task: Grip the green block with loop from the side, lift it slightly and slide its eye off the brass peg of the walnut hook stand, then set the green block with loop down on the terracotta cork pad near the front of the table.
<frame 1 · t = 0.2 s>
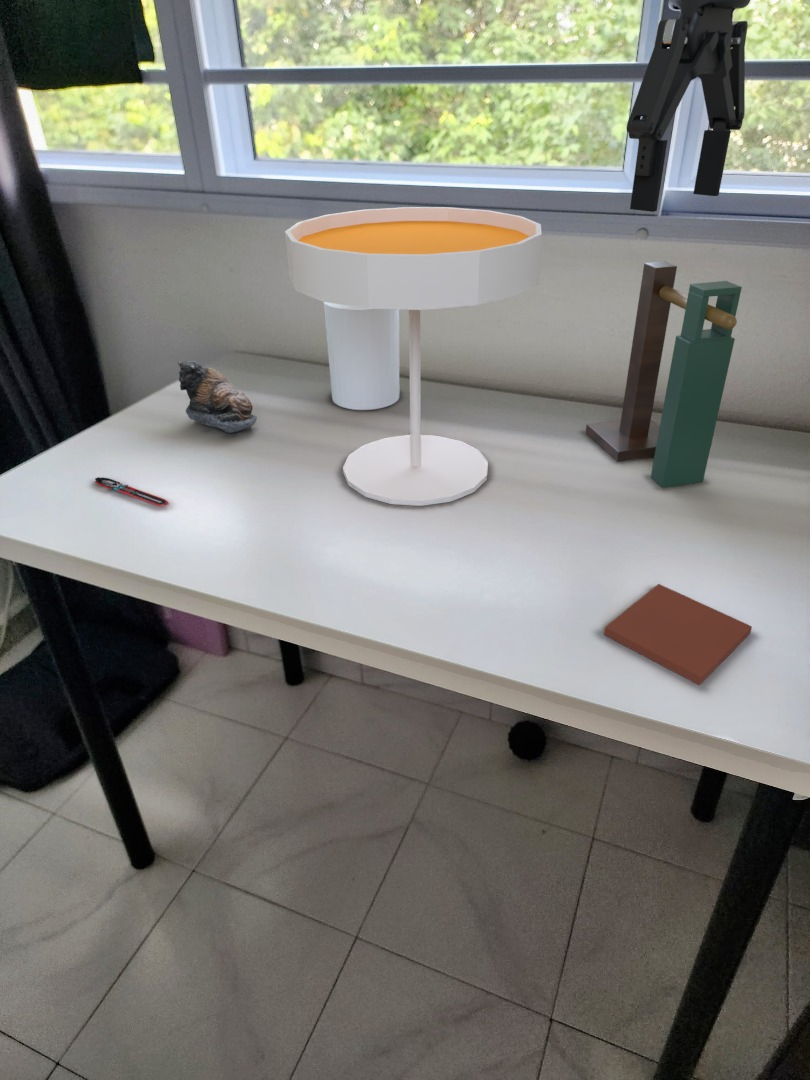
hand: (675, 202, 82), 34 cm above the table, tool pointing down, fingers open, 13 cm apart
green block with loop: (676, 479, 99), on the table
bottle: (365, 397, 126), on the table
hook stand: (631, 442, 109), on the table
white stemmed bowl: (415, 470, 103), on the table
cork pad: (676, 634, 73), on the table
bison figurine: (220, 428, 116), on the table
pen: (131, 494, 99), on the table
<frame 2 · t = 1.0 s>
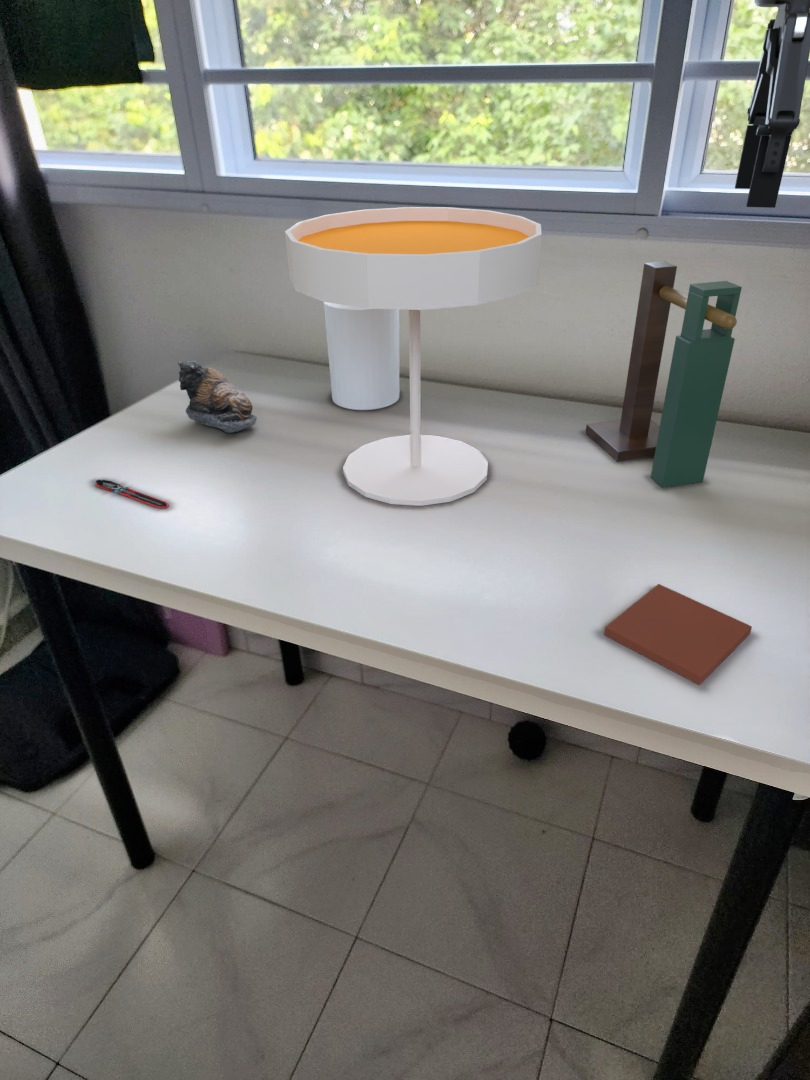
hand: (753, 197, 83), 34 cm above the table, tool pointing down, fingers open, 13 cm apart
nothing on the table moved.
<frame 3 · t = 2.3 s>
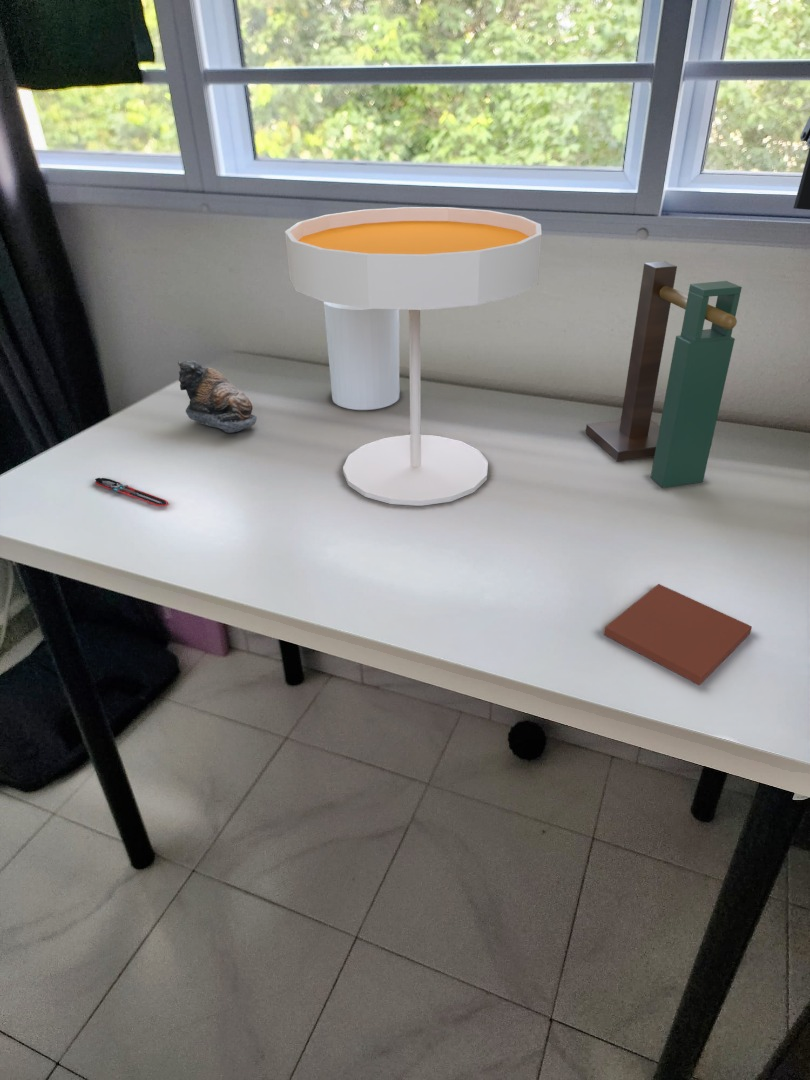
nothing on the table moved.
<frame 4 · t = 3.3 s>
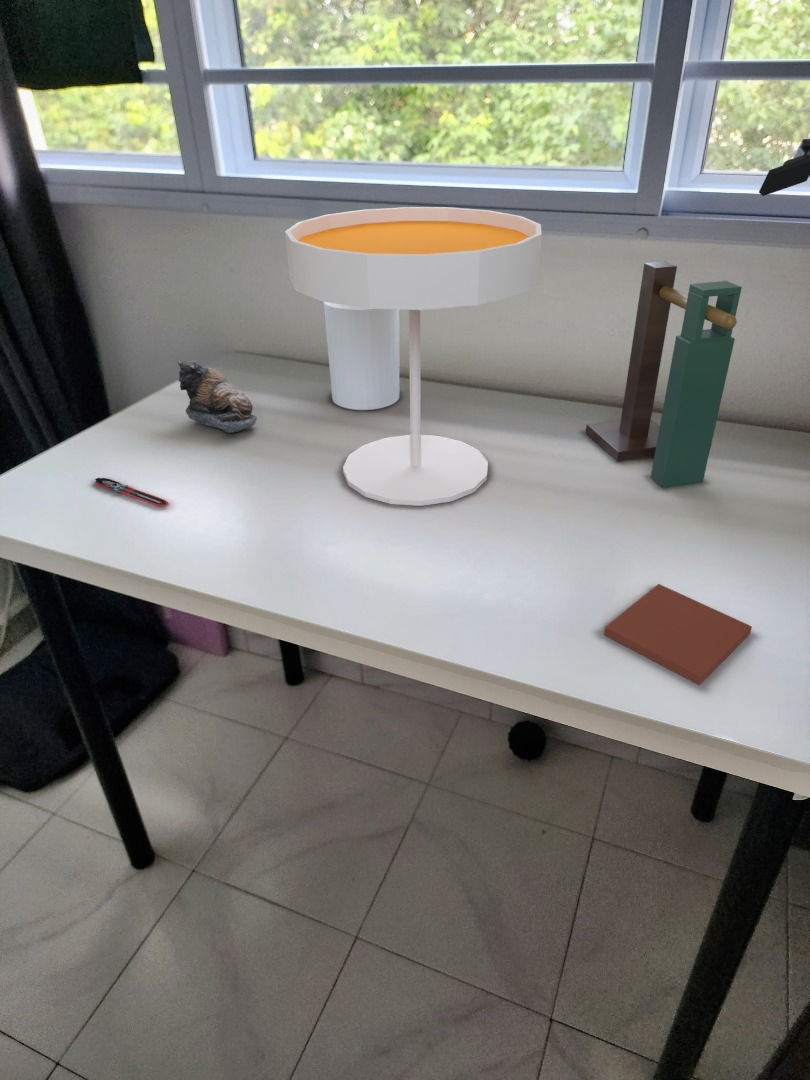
hand: (808, 219, 80), 32 cm above the table, tool horizontal, fingers open, 13 cm apart
nothing on the table moved.
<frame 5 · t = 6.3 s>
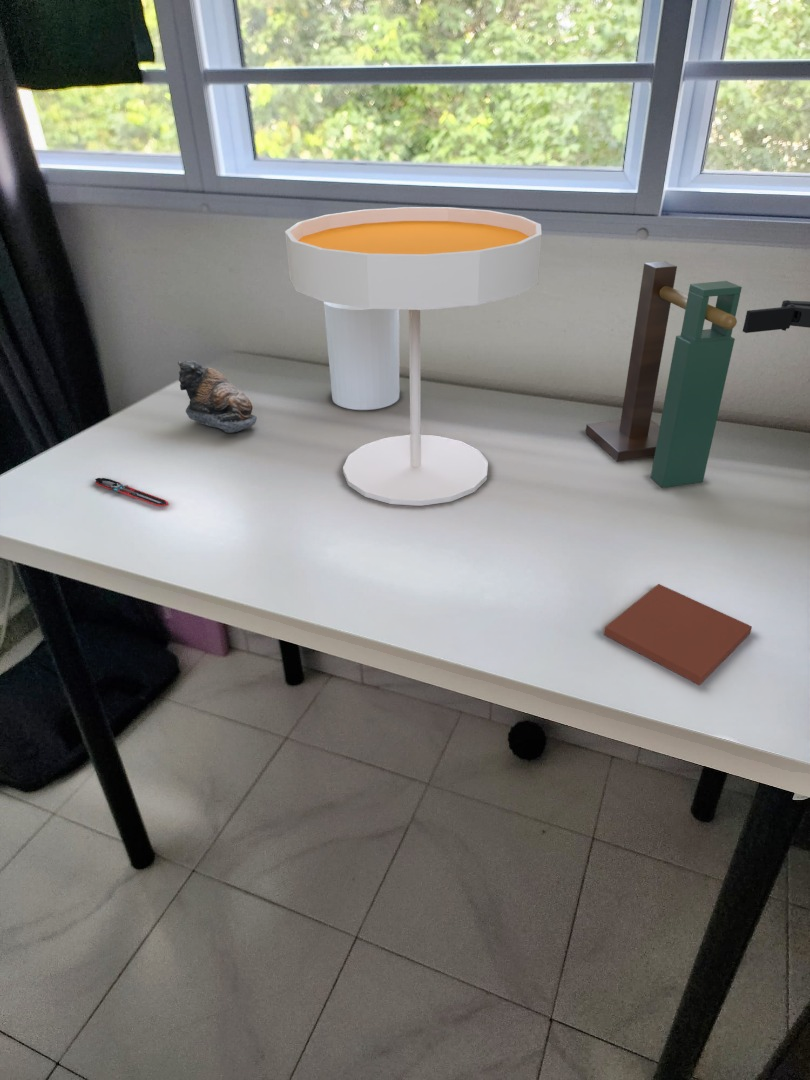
hand: (780, 337, 92), 18 cm above the table, tool horizontal, fingers open, 13 cm apart
nothing on the table moved.
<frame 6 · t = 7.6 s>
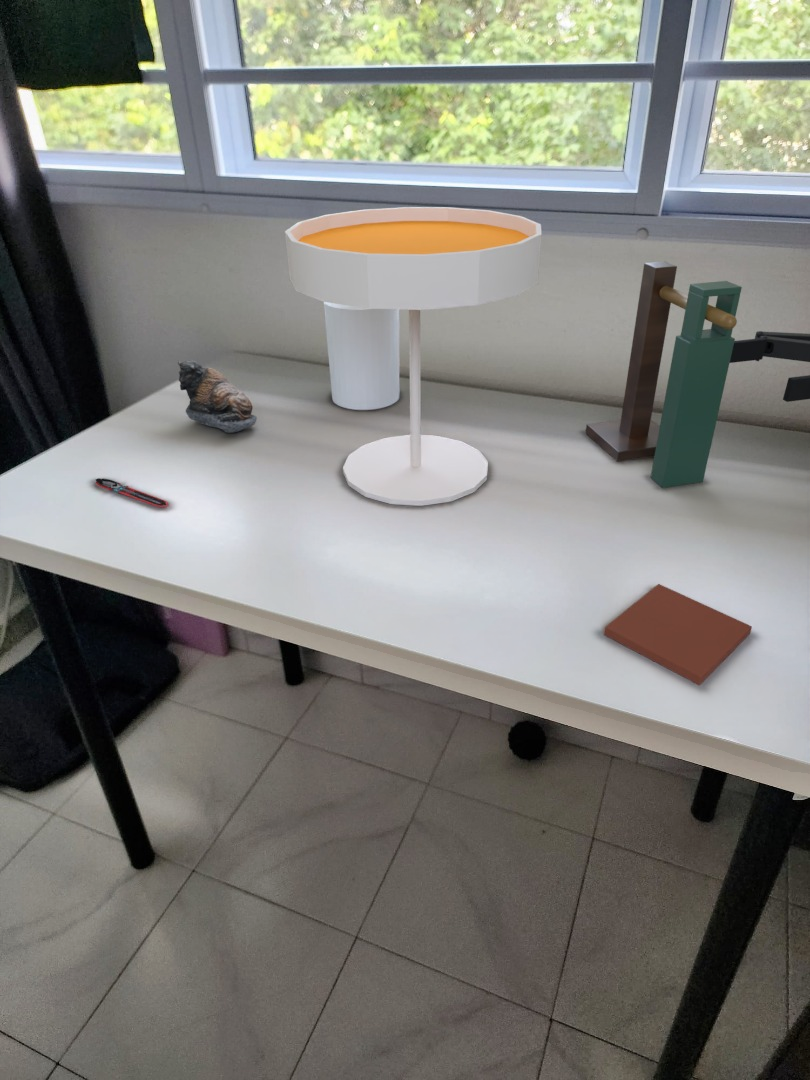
hand: (751, 370, 93), 14 cm above the table, tool horizontal, fingers open, 13 cm apart
nothing on the table moved.
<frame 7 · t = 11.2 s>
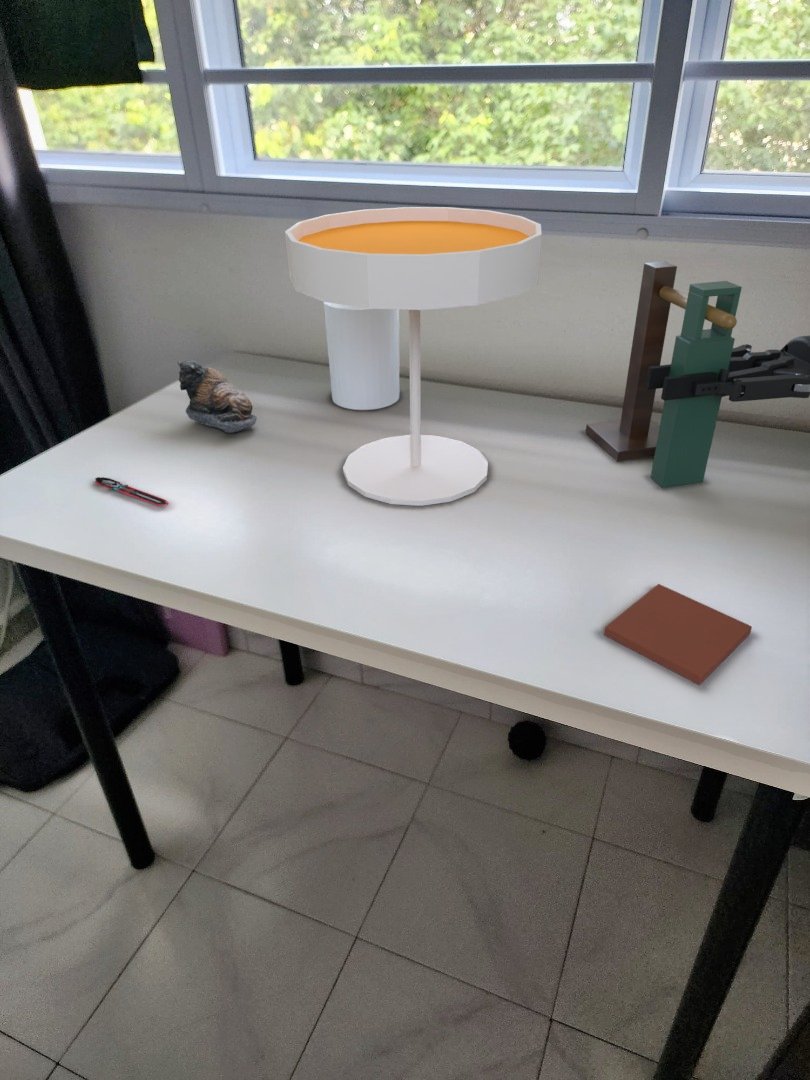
hand: (656, 383, 91), 14 cm above the table, tool horizontal, fingers closed on green block with loop, 3 cm apart
green block with loop: (676, 479, 99), on the table, touching gripper
everything else where it was.
when the fingers open (15 cm above the table, at t = 23.5 s): green block with loop stays where it is, resting on cork pad.
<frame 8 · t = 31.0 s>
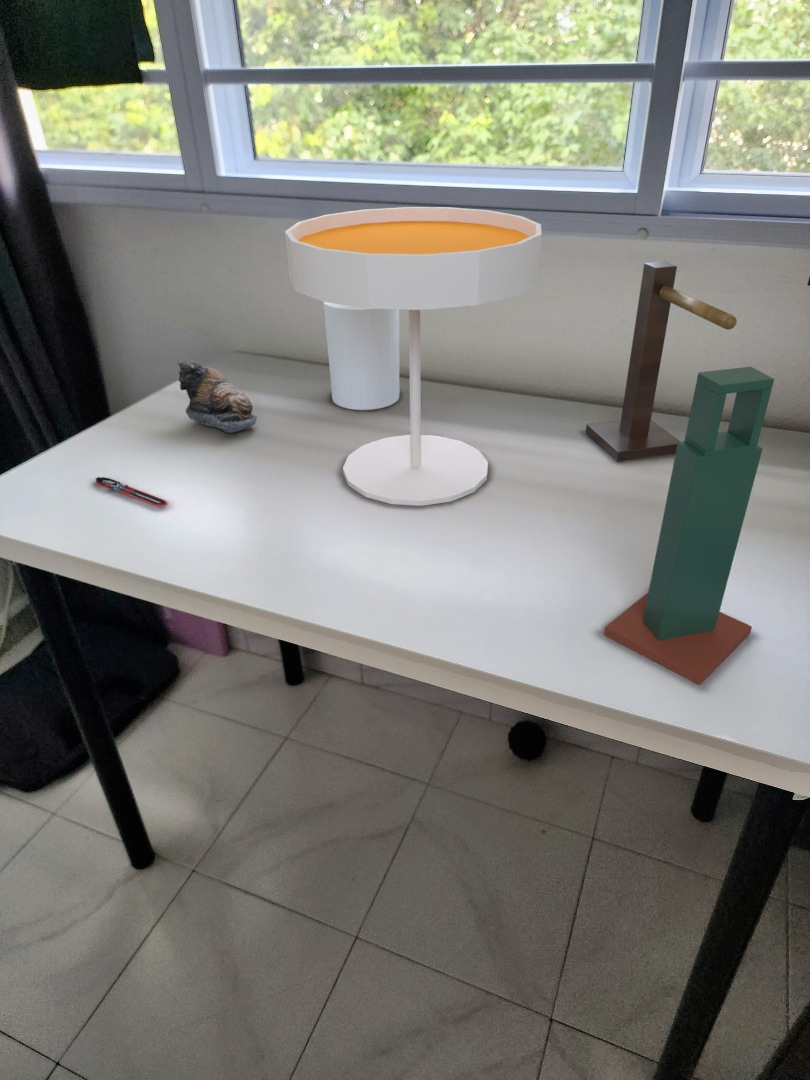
green block with loop: (678, 625, 72), point 1 cm above the table, touching cork pad
everything else where it was.
at the end: green block with loop inside the target area on the cork pad (0.1 cm from its centre), point 1.0 cm above the cork pad's base; green block with loop touching cork pad; the gripper is holding nothing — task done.
